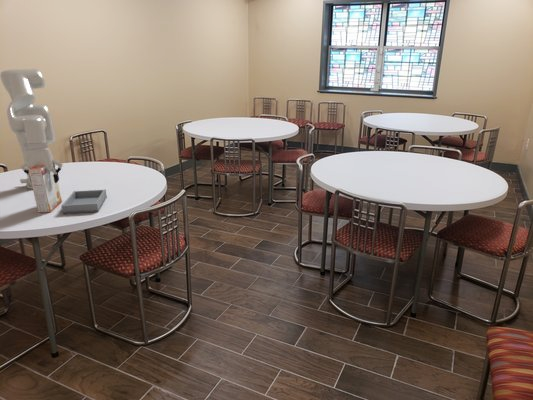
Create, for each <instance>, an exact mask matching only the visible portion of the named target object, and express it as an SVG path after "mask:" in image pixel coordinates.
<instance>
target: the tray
mask: <svg viewBox="0 0 533 400" xmlns="http://www.w3.org/2000/svg"><path fill="white" fill-rule="evenodd" d="M107 197H108V196H107V190H106V189H93V190H90V189H88V190H73V192H72V193H71V194H70V195H69V197H67V199H66V200H65V201H64V202H63V203H62V205H61V210H62V214H63V215H70V214H71V215H72V214H89V213H99V211H100V210H101V208H102V207H103V205H104V202H105V201H106V199H107Z"/></svg>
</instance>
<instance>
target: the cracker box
mask: <svg viewBox="0 0 533 400" xmlns="http://www.w3.org/2000/svg"><path fill="white" fill-rule="evenodd" d="M28 170H29V175H30V179H31V183H32V187H33V189H32V190H33V191H32V192H33V196H34V199H35V200H34V201H35V204H36V208H37V213H39V214H41V213H52V212H53V211H54V210H55V209H56V208H57V207H58V206H59V205H60V204H61V203H62V202H63V199H62V196H61V190H60V185H59V181H58V182H57V183H55V182H54V177H53V175H54V173H53V172H52V171H46V167H45V166H34V167H31V168H30V169H28Z"/></svg>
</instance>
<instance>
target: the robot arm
mask: <svg viewBox="0 0 533 400" xmlns="http://www.w3.org/2000/svg"><path fill="white" fill-rule="evenodd" d="M0 80H1V82H2V85H3V87H4V89H5V90H6V92H7V93H8V94H9V96H10V99H11V101H10V103H9V105H8V107H7V109H6V116H7V120H8V124H9V128H10V130H11V132H13V133H14V134H16V139H17V142H18V145H19V148H20V150H21V154H22V159H23V164H22V165H21V166H20V169H21V170H22V171H23V172H24V173H25V174H26V177H27V178H20V179H19V181H20V184H25V188H26V189H28V190H33V187H32V183H31V179H30V175H29V170H28V169H30V168H31V167H34V166H45V167H46V171H52V172H53V173H54V175H53V177H54V182H55V183H57V182H58V183H59V180H60V177H59V173H60V171H62V168H63V166H64V165H63V163H61V162H59V161H56V160H54V156H53V153H52V151H51V148H50V147H48V144H49V145H50V144H53V143H54V142H56V134H55V129H54V125H53V119H52V115H51V112H50V111H51V110H50V109H49V107H48V105H45V104H34V103H35V101H36V96H35V94H34V90H35V89H44V87H45V84H46V82H45V81H46V80H45V77H44V74H43V73H42V72H41V70H39V69H35V68H30V69H28V68H27V69H26V68H25V69H19V68H18V69H16V68H15V69H6V70H3V71H1V72H0ZM56 166H57V168H56Z"/></svg>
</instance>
